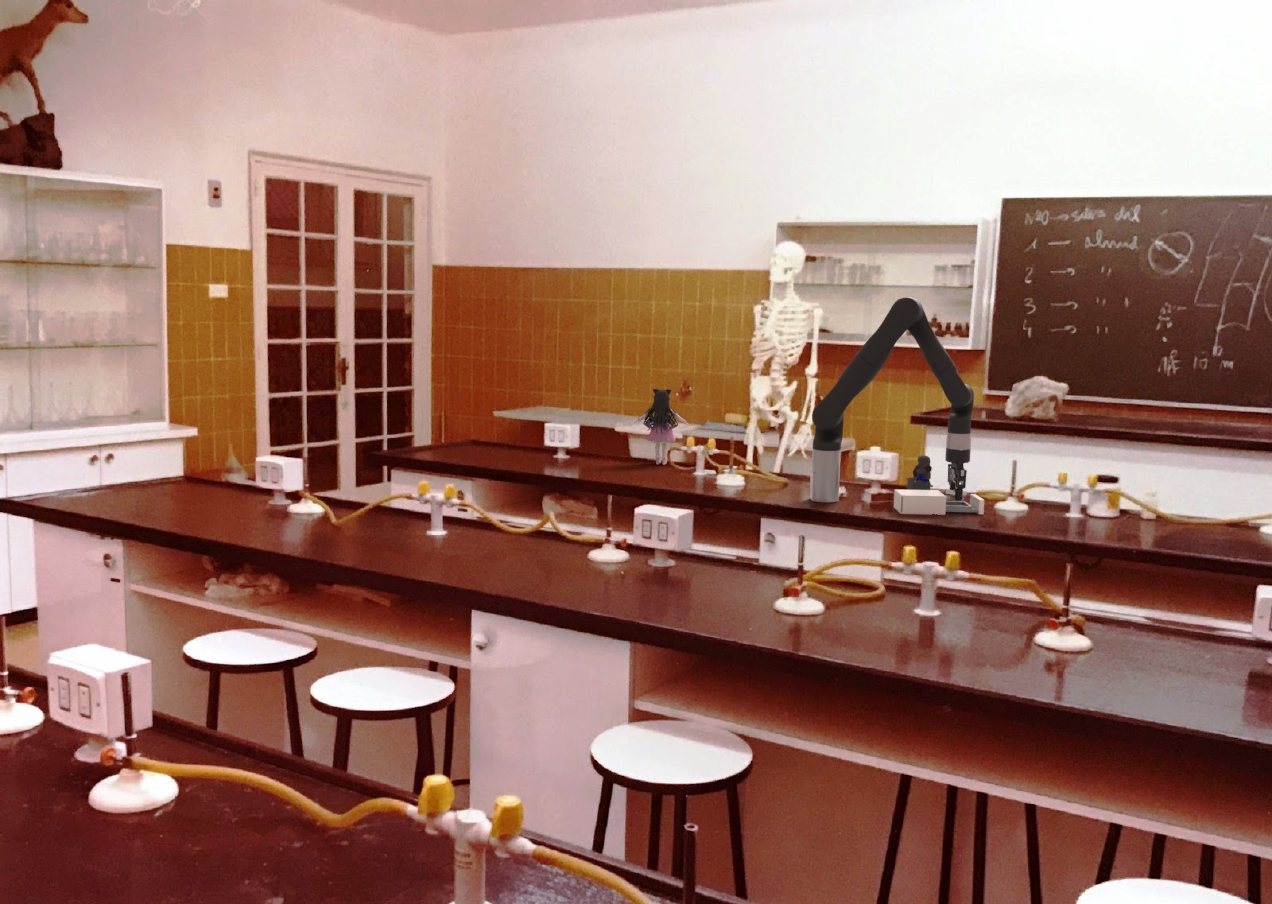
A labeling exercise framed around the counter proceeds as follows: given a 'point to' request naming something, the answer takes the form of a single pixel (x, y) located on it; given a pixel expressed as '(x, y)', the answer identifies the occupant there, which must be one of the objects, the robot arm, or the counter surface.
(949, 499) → the pedestal
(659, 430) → the figurine
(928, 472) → the toy
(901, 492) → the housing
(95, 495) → the counter surface
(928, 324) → the robot arm
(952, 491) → the puck
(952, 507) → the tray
